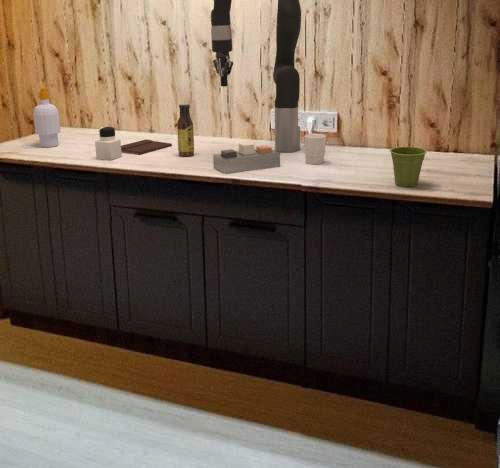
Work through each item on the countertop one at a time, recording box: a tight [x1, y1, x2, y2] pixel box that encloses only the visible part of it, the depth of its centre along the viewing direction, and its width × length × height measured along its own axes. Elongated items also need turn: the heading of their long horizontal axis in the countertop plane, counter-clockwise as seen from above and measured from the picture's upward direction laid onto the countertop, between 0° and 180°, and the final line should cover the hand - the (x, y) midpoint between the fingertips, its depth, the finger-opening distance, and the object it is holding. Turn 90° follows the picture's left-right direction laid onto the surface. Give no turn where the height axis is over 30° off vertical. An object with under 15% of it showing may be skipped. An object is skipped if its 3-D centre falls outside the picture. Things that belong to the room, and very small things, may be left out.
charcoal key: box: [220, 149, 237, 158], centre depth 261 cm, size 4×4×4 cm
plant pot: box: [389, 146, 428, 187], centre depth 237 cm, size 12×12×11 cm
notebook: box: [121, 138, 173, 156], centre depth 300 cm, size 15×20×2 cm
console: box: [212, 148, 281, 174], centre depth 265 cm, size 22×10×5 cm, turn 116°
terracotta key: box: [255, 145, 273, 153], centre depth 267 cm, size 4×4×4 cm
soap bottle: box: [32, 86, 61, 148], centre depth 305 cm, size 10×10×24 cm
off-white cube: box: [238, 142, 255, 155], centre depth 264 cm, size 4×4×4 cm
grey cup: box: [303, 133, 327, 165], centre depth 269 cm, size 8×8×10 cm
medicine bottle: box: [94, 126, 123, 161], centre depth 283 cm, size 7×7×12 cm
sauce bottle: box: [176, 103, 195, 157], centre depth 284 cm, size 6×6×20 cm
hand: (224, 86), depth 272 cm, fingers closed
